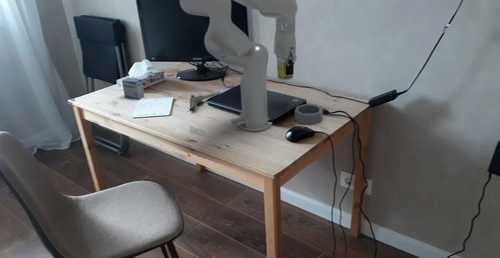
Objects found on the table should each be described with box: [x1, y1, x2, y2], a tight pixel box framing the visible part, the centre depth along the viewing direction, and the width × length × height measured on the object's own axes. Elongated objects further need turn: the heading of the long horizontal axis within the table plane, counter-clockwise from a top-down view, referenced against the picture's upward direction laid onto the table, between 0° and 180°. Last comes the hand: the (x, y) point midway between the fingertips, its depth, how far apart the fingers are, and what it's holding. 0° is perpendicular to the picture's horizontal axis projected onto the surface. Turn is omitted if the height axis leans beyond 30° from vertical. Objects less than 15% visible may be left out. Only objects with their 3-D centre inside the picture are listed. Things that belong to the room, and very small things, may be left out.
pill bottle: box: [277, 56, 294, 81], centre depth 169 cm, size 6×6×11 cm
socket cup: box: [294, 103, 324, 125], centre depth 162 cm, size 10×10×4 cm
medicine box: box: [121, 77, 145, 101], centre depth 190 cm, size 8×4×9 cm, turn 68°
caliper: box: [189, 91, 222, 110], centre depth 183 cm, size 20×1×6 cm, turn 145°
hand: (285, 72), depth 170 cm, fingers closed on pill bottle, 6 cm apart
